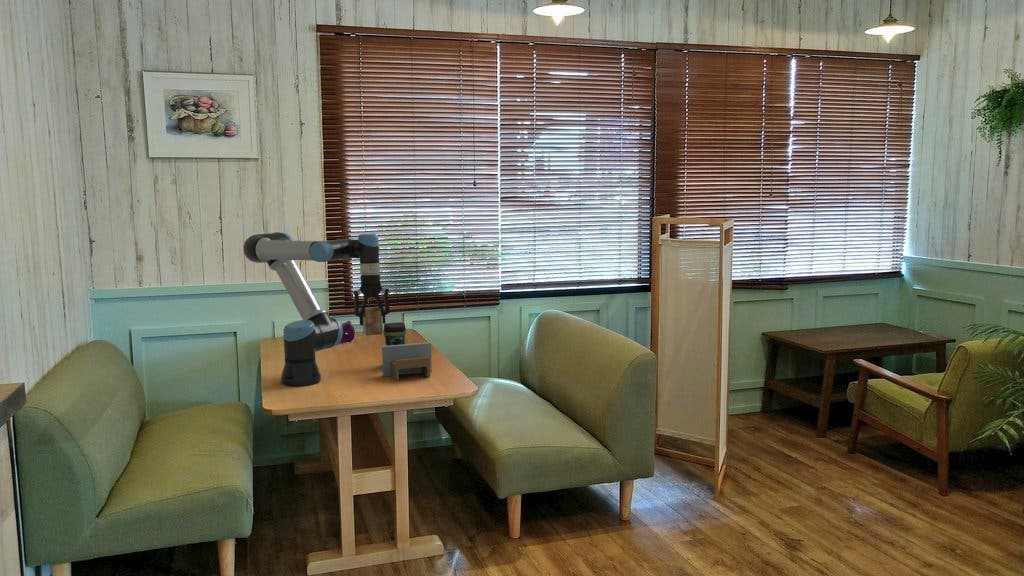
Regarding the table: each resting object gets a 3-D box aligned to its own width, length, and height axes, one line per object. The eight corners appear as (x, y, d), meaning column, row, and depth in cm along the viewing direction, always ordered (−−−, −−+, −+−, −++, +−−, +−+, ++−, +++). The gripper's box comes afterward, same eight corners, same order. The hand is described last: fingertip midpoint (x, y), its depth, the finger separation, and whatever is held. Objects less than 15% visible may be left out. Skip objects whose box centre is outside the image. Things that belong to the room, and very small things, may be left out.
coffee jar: (405, 362, 340) (404, 320, 337) (408, 366, 332) (407, 323, 330) (382, 364, 337) (381, 321, 334) (386, 368, 329) (384, 324, 327)
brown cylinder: (366, 335, 301) (365, 309, 299) (363, 333, 306) (362, 307, 305) (382, 334, 303) (381, 308, 302) (379, 331, 309) (377, 306, 307)
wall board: (388, 381, 308) (387, 351, 306) (382, 375, 317) (381, 346, 316) (437, 376, 315) (437, 347, 313) (430, 370, 325) (429, 342, 323)
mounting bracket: (323, 355, 381) (357, 338, 383) (315, 340, 379) (349, 323, 381) (325, 351, 390) (357, 334, 392) (316, 336, 388) (349, 320, 390)
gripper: (346, 276, 295) (350, 336, 298) (396, 273, 302) (399, 332, 304) (343, 274, 302) (347, 333, 305) (392, 271, 309) (395, 329, 311)
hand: (373, 332), depth 305 cm, fingers closed on brown cylinder, 6 cm apart
